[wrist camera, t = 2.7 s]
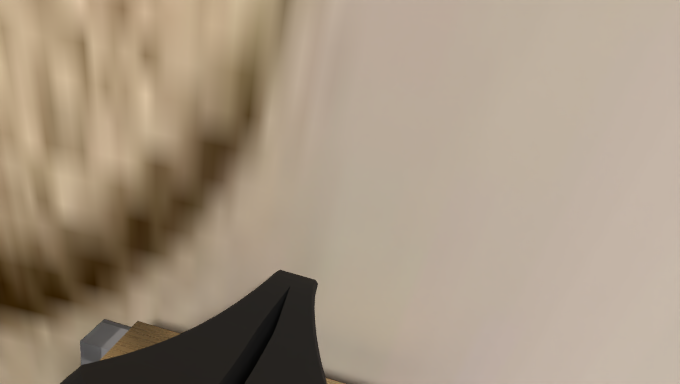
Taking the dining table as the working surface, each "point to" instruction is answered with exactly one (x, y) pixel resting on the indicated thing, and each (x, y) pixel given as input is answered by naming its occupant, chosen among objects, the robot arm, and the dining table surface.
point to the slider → (147, 341)
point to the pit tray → (101, 340)
